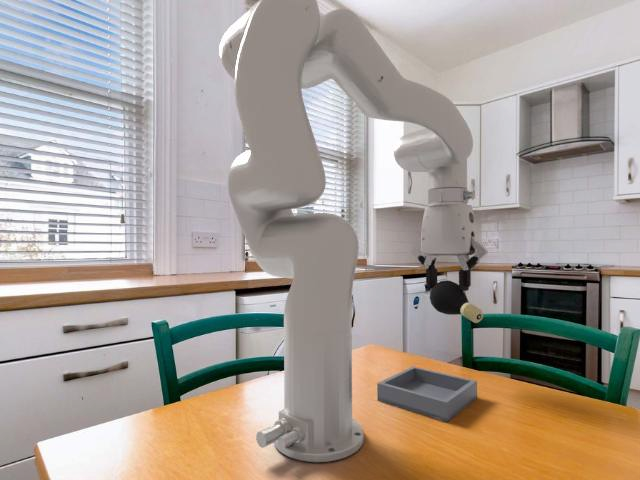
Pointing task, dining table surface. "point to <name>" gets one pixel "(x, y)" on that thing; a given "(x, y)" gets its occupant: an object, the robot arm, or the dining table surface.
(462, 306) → the light bulb
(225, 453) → the dining table surface
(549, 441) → the dining table surface
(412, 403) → the parts tray
